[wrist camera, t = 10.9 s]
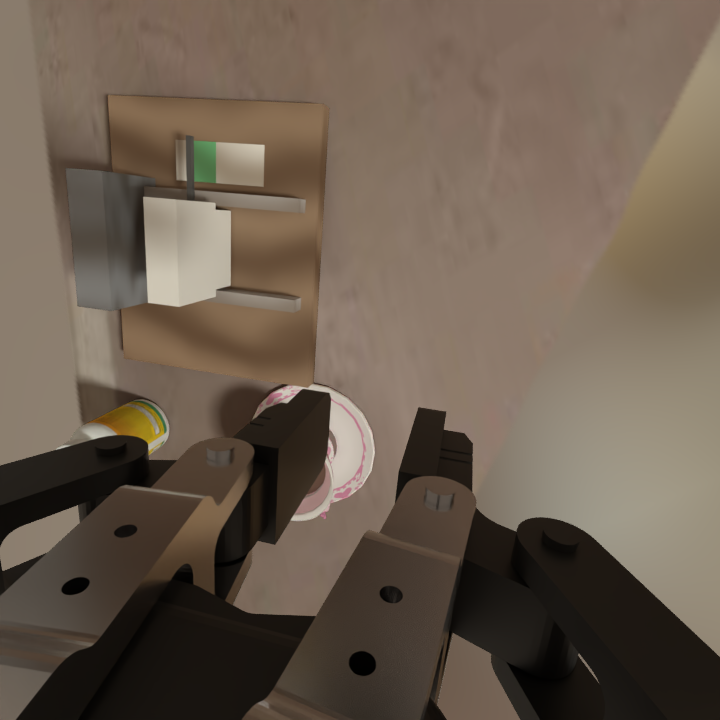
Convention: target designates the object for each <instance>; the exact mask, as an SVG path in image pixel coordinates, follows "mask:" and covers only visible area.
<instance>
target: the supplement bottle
mask: <svg viewBox="0 0 720 720" xmlns="http://www.w3.org/2000/svg"><path fill="white" fill-rule="evenodd" d="M113 435H130V436H136V437H139V438H142V439H143V440H145V441H146V442H147V443H148V449H149V455H150V454H151V453H153V452H154V451H155V450H157V449H158V448H160V447H161V446H162V445H163V444H164V443H165V442H166V440H167V438H168V435H169V423H168V420H167V418H166V416H165V414H164V412H163V411H162V410H161V408H160V407H159V406H157V405H156V404H154V403H153V402H151V401H148V400H144V399H139V400H134V401H131V402H129V403H127V404H125V405H123V406H121V407H119V408H117V409H115V410H113V411H111V412H109V413H107V414H105V415H103V416H101V417H99V418H97V419H95V420H92V421H91V422H88V423H86V424H84V425H83V426H81V427H79V428H78V429H77V430H76V431H75V432H74V434H73V435H72V437H71V439H70V441H68V442H66V443H65V444H63V445H61V446H59V447H58V448H57V449H61V448H65V447H68V446H72V445H75V444H79V443H82V442H86V441H89V440H93V439H96V438H100V437H105V436H113ZM57 449H56V450H57Z"/></svg>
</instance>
